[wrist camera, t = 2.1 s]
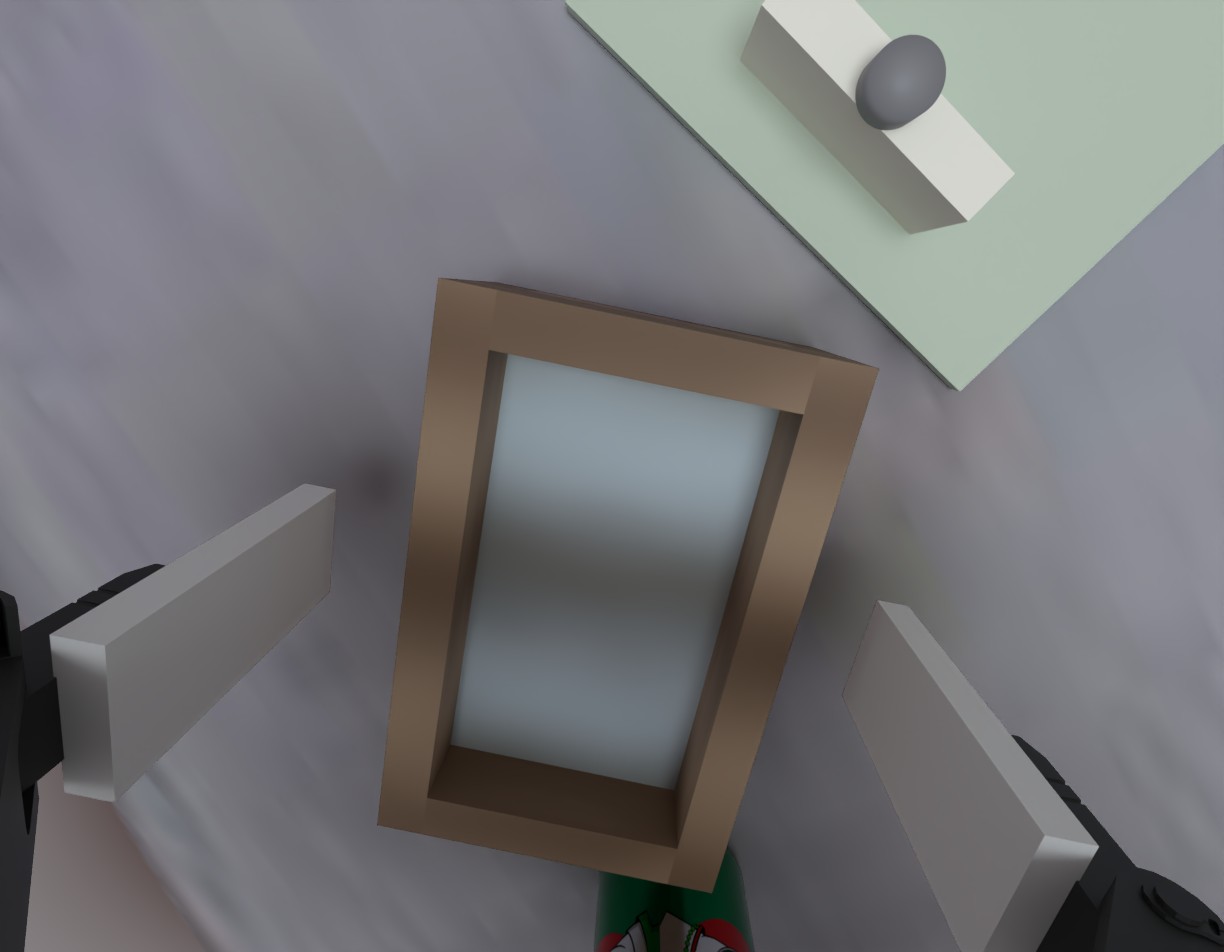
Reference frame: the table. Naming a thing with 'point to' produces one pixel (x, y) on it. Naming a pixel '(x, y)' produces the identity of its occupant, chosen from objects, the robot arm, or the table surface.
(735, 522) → the brown wooden open box
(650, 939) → the soda can
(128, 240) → the table surface
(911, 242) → the wall board
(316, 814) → the table surface
